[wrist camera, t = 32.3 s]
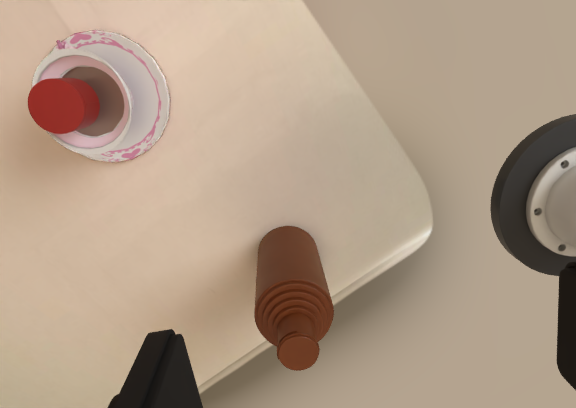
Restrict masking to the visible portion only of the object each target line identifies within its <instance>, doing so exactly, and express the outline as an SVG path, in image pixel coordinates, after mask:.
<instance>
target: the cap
mask: <svg viewBox="0 0 576 408" xmlns="http://www.w3.org/2000/svg"><path fill="white" fill-rule="evenodd" d="M28 108H29V111H30V114H31V116H32V118H33V119H34V121H35V122H36V123H37V124H38V125H39V126H40V127H41V128H43V129H44V130H46V131H48V132H51V133H55V134H66V133H70V132H73V131H76V130H79V129H83V128H86V127H88V126H90V125H91V124H93V123H94V122H95V120H96V119H97V117H98V115H99V110H100V104H99V99H98V96H97V94H96V93H95V91H94V90H93V88H92V87H91V86H89V85H88V84H87V83H86V82H84V81H82V80H79V79H76V78H50V79H45V80H42V81H40V82H38V83H37V84H35V85H34V86H33V88H32V89H31V91H30V93H29V97H28Z"/></svg>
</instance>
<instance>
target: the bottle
mask: <svg viewBox="0 0 576 408" xmlns="http://www.w3.org/2000/svg"><path fill="white" fill-rule="evenodd" d="M333 315H334V310H333V304H332V300H331V297H330V293H329V290H328V286H327V282H326V279H325V275H324V272H323V268H322V264H321V261H320V257H319V254H318V250H317V247H316V244H315V241H314V240H313V238H312V237H311V236H310V235H309V234H308V233H307V232H306V231H304V230H302V229H300V228H298V227H293V226H283V227H279V228H276V229H274V230H272V231H270V232H269V233H268V234H267V235H266V236H265V237H264V238H263V239H262V241H261V243H260V245H259V249H258V259H257V277H256V295H255V322H256V325H257V327H258V329H259V331H260V332H261V334H262V335H263V336H264V337H265V338H266V340H268V341H269V342H270V343H272V344H273V345H275V346H277V356H278V359H280V361H281V363H282V364H283V365H284V366H285V367H287V368H289V369H291V370H304V369H307V368H309V367H311V366H312V365H313V364H314V363H315V362H316V360H317V358H318V355H319V345H318V343H317V342H318V341H319V340H321V339H322V338H323V337H324V336H325V334H326V333H327V332H328V330H329V328H330V326H331V323H332V320H333Z"/></svg>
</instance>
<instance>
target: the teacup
mask: <svg viewBox="0 0 576 408" xmlns="http://www.w3.org/2000/svg"><path fill="white" fill-rule="evenodd" d="M50 78H76V79H79V80H82V81H84V82H86V83H87V84H88V85H89V86H91V87H92V88H93V90H94V91H95V93H96V94H97V96H98V99H99V104H100V110H99V115H98V117H97V119H96V120H95V122H94V123H93V124H91V125H90V126H88V127H86V128H83V129H79V130H76V131H73V132H70V133H66V134H55V133H51V132H48V131H47V133H48V134H49V135H50V136H51V137H52V138H53V139H54V140H55V141H57V142H58V143H59V144H61V145H62V146H64V147H65V148H67V149H69V150H71V151H74V152H77V153H79V154H81V155H83V156H85V157H87V158H90V159H92V160H97V161H104V162H111V163H113V162H119V161H125V160H131V159H133V158H135V157H137V156H139V155H141V154H143V153H145V152H146V151H148V150H149V149H150V148H151V147H152V146H153V145H154V144H155V143H156V142H157V141H158V140H159V138H160V137H161V136H162V134H163V131H164V129H165V127H166V124H167V122H168V120H169V110H170V95H169V91H168V87H167V83H166V78H165V77H164V75H163V73H162V71H161V70H160V68H159V66H158V65H157V63H156V61H155V59H154V58H153V57H151V56H150V55H149V54H148V53H147V52H146V51H145V50H144V49H143V48H142V47H141V46H140V45H139V44H137V43H135V42H134V41H132V40H130V39H128V38H126V37H124V36H122V35H120V34H117V33H111V32H105V31H100V30H92V31H86V32H80V33H75V34H73V35H71V36H70V37H68V38H66V39H64V40H63V41H61V42H60V41H59V40H57V45H56V46H55V47H54V48H53V50H52V51H51V52H50V53H49V55H48V56H47V57H45V58H44V59H43V60H42V61H41V63H40V64H39V65H38V67H37V69H36V71H35V73H34V76H33V80H32V88H33V86H34V85H35V84H37V83H38V82H40V81H42V80H45V79H50ZM32 88H31V89H32Z"/></svg>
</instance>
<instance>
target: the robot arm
mask: <svg viewBox="0 0 576 408" xmlns="http://www.w3.org/2000/svg"><path fill="white" fill-rule="evenodd" d="M526 217H527V223H528V226H529V228H530V231H531V233H532V234H533V236H534V237H535V238H536V240H537V241H539V242H540V243H541V244H542V245H543V246H545V247H546V248H548V249H549V250H551V251H553V252H555V253H557V254H560V255H565V256H576V147H573V148H571V149H568V150H566V151H565V152H563V153H561V154H559V155H558V156H556V157H555V158H554V159H553V160H551V161H550V162H549V163H548V164H547V165H546V166H545V167H544V168H543V169H542V170H541V171H540V173H539V174H538V176H537V177H536V179H535V180H534V182H533V184H532V187H531V189H530V191H529V194H528V198H527V202H526ZM558 303H559V304H558V305H559V306H558V336H557V365H558V369H559V371H560V373H561V375H562V376H563V377H564V379H566V381H567V382H568V383H569V384H570V385H571V386H572V387H573V388H574V389H575V390H576V261H574V262H569V263H568V264H567V265H566V266H565V269H563V270H561V272H560V275H559V302H558ZM108 408H203V406H202V403H201V399H200V396H199V392H198V388H197V385H196V381H195V378H194V374H193V371H192V367H191V363H190V360H189V356H188V353H187V349H186V346H185V342H184V339H183V336H182V335H181V334H176V335H175V332H174V331H173V330H172V329H170V330H164V331H158V332H152V333H148V335H147V336H146V338H145V340H144V342H143V345H142V347H141V349H140V351H139V353H138V355H137V357H136V359H135V362H134V364H133V366H132V368H131V370H130V372H129V374H128V376H127V379H126V381H125V383H124V385H123V387H122V389H121V391H120V393H119V394H118V395H116V396H115V397H114V398H113V399H112V401H111V402H110V404H109V406H108Z"/></svg>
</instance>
